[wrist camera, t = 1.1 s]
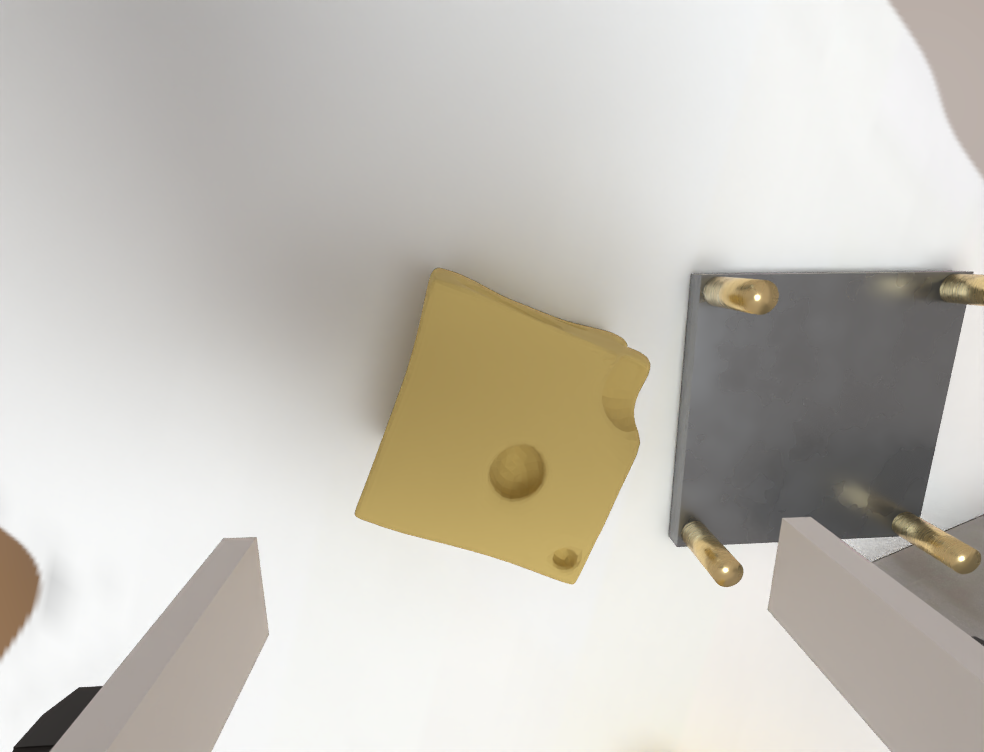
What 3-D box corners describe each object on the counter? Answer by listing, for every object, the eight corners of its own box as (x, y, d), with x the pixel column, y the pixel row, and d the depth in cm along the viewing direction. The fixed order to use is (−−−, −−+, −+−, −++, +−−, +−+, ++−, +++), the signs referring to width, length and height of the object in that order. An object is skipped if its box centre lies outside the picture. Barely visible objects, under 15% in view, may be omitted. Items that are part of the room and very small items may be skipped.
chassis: (691, 273, 28) (743, 277, 23) (952, 271, 29) (1058, 274, 24) (668, 536, 32) (709, 589, 27) (899, 525, 33) (980, 574, 28)
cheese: (611, 331, 28) (692, 371, 19) (538, 493, 30) (576, 606, 21) (440, 262, 27) (430, 266, 17) (375, 438, 29) (334, 531, 19)
